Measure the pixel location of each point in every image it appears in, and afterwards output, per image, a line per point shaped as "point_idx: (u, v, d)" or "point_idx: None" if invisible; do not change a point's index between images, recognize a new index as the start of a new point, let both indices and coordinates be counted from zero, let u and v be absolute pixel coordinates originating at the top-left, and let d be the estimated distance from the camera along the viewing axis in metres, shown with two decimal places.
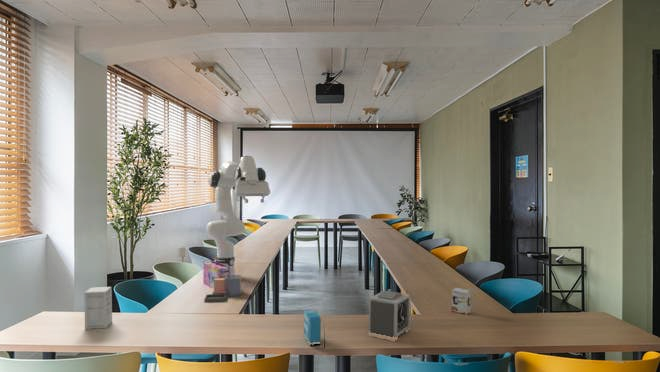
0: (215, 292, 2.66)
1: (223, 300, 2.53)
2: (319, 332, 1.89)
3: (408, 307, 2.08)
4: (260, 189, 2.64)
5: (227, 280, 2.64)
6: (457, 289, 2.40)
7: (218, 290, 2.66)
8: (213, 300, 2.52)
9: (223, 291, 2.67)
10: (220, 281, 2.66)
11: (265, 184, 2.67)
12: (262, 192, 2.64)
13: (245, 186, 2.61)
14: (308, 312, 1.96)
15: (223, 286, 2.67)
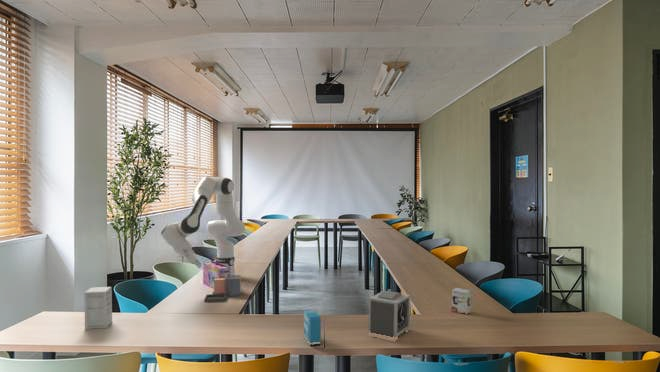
0: (215, 292, 2.66)
1: (223, 300, 2.53)
2: (319, 332, 1.89)
3: (408, 307, 2.08)
4: None
5: (227, 280, 2.64)
6: (457, 289, 2.40)
7: (218, 290, 2.66)
8: (213, 300, 2.52)
9: (223, 291, 2.67)
10: (220, 281, 2.66)
11: None
12: None
13: None
14: (308, 312, 1.96)
15: (223, 286, 2.67)
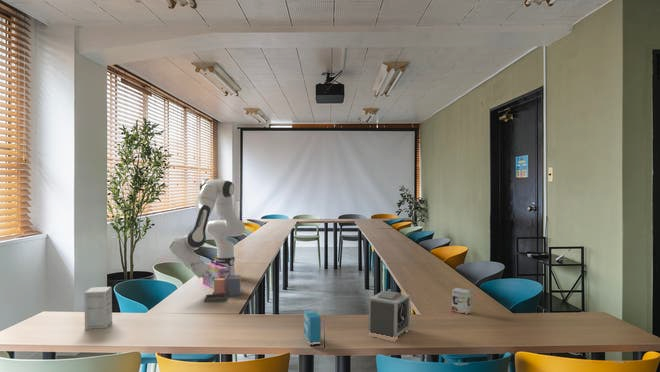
0: (215, 292, 2.66)
1: (223, 300, 2.53)
2: (319, 332, 1.89)
3: (408, 307, 2.08)
4: None
5: (227, 280, 2.64)
6: (457, 289, 2.40)
7: (218, 290, 2.66)
8: (213, 300, 2.52)
9: (223, 291, 2.67)
10: (220, 281, 2.66)
11: None
12: None
13: None
14: (308, 312, 1.96)
15: (223, 286, 2.67)
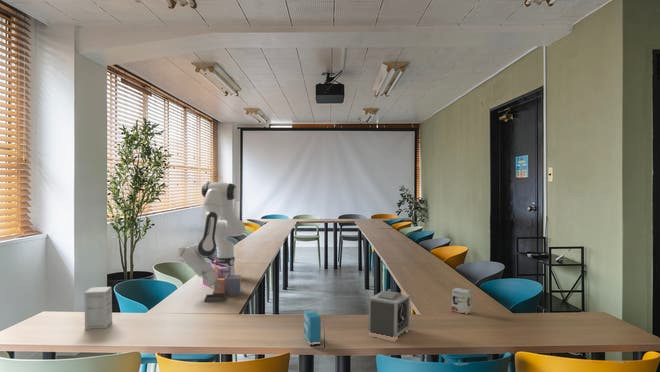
0: (215, 292, 2.66)
1: (223, 300, 2.53)
2: (319, 332, 1.89)
3: (408, 307, 2.08)
4: None
5: (227, 280, 2.64)
6: (457, 289, 2.40)
7: (218, 290, 2.66)
8: (213, 300, 2.52)
9: (223, 291, 2.67)
10: (220, 281, 2.66)
11: None
12: None
13: None
14: (308, 312, 1.96)
15: (223, 286, 2.67)
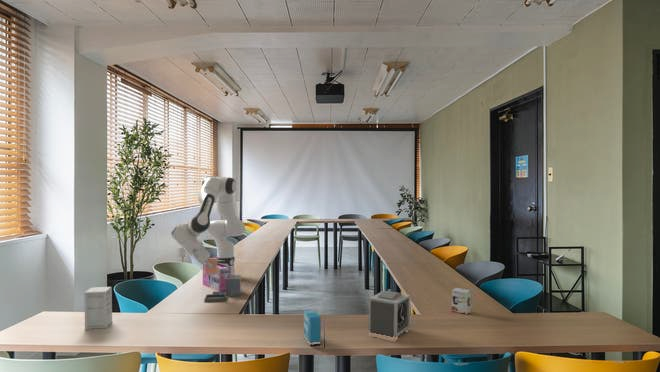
0: (207, 271, 2.60)
1: (223, 300, 2.53)
2: (319, 332, 1.89)
3: (408, 307, 2.08)
4: None
5: (227, 280, 2.64)
6: (457, 289, 2.40)
7: (210, 269, 2.60)
8: (213, 300, 2.52)
9: (215, 270, 2.60)
10: (212, 260, 2.60)
11: None
12: None
13: None
14: (308, 312, 1.96)
15: (214, 265, 2.60)
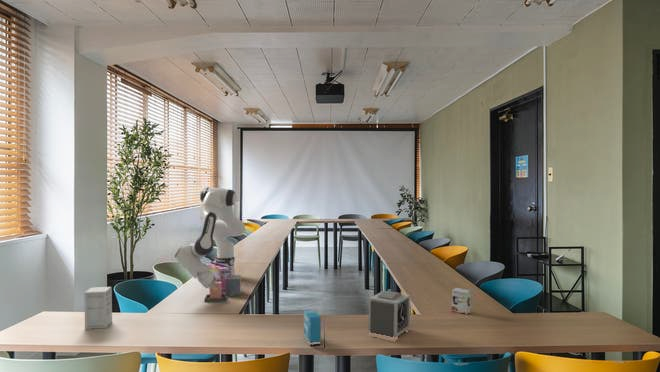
0: (211, 296, 2.55)
1: (223, 300, 2.53)
2: (319, 332, 1.89)
3: (408, 307, 2.08)
4: None
5: (227, 280, 2.64)
6: (457, 289, 2.40)
7: (214, 293, 2.55)
8: (213, 300, 2.52)
9: (219, 295, 2.56)
10: (216, 284, 2.55)
11: None
12: None
13: None
14: (308, 312, 1.96)
15: (219, 289, 2.56)
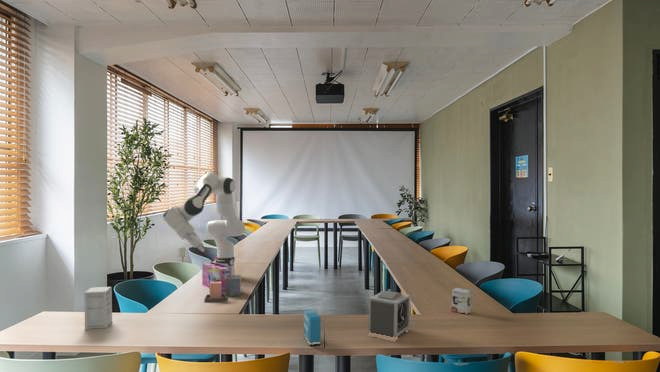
0: (211, 296, 2.55)
1: (223, 300, 2.53)
2: (319, 332, 1.89)
3: (408, 307, 2.08)
4: None
5: (227, 280, 2.64)
6: (457, 289, 2.40)
7: (214, 293, 2.55)
8: (213, 300, 2.52)
9: (219, 295, 2.56)
10: (216, 284, 2.55)
11: None
12: None
13: None
14: (308, 312, 1.96)
15: (219, 289, 2.56)
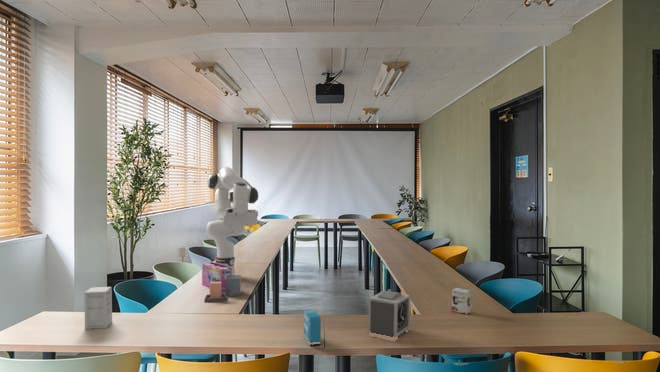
0: (211, 296, 2.55)
1: (223, 300, 2.53)
2: (319, 332, 1.89)
3: (408, 307, 2.08)
4: (247, 220, 2.75)
5: (227, 280, 2.64)
6: (457, 289, 2.40)
7: (214, 293, 2.55)
8: (213, 300, 2.52)
9: (219, 295, 2.56)
10: (216, 284, 2.55)
11: (253, 215, 2.75)
12: (248, 224, 2.75)
13: (232, 216, 2.74)
14: (308, 312, 1.96)
15: (219, 289, 2.56)
